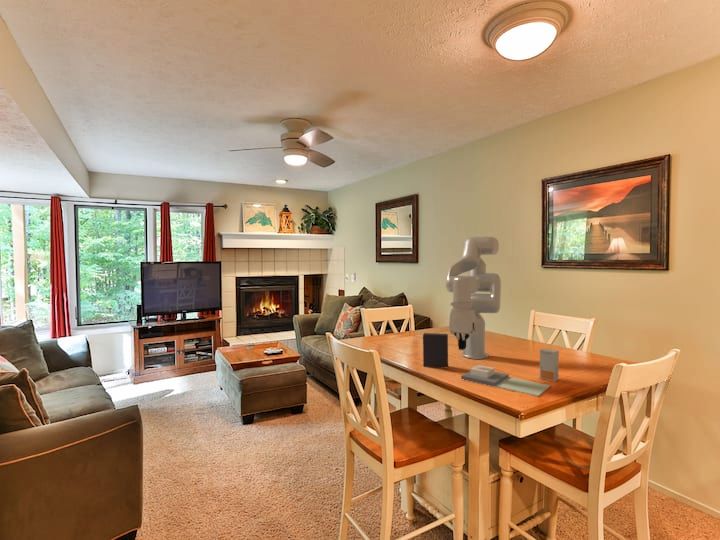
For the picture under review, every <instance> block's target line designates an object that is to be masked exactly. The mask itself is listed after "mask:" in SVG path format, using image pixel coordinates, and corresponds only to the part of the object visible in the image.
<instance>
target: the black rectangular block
mask: <svg viewBox="0 0 720 540" xmlns="http://www.w3.org/2000/svg"><path fill="white" fill-rule="evenodd" d="M422 350H423V351H422V352H423V353H422V355H423V356H422V357H423V358H422V361H423V362H422V366H423V367H425V366H433V367H432V368H441V367H447V368H448V367H449V334H448V333H439V332H438V333H437V332H436V333H433V332H430V333H429V332H424V333H423V335H422Z"/></svg>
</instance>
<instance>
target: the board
mask: <svg viewBox="0 0 720 540" xmlns="http://www.w3.org/2000/svg"><path fill="white" fill-rule="evenodd" d="M509 375H510V374H509V373H503V372H500V371H499V372H498V371H494V375H492V376H490V377H489V378H484V377H479V376H474V375H471V370H469V371H468V372H466V373H463V374H462V375H460V376H461V377H460V379H464V380H463V381H466V380H468V381H467V382H470V381H473V382H472V383H475V382H477V383H476V384H479V383H481V384H480V385H484V384H486V385H485V386H488V385H490V386H489V387H493V386H495V385H497V384H498V383H500V382H502V381H503V380H505V379H506V378H508V377H510V376H509Z"/></svg>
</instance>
